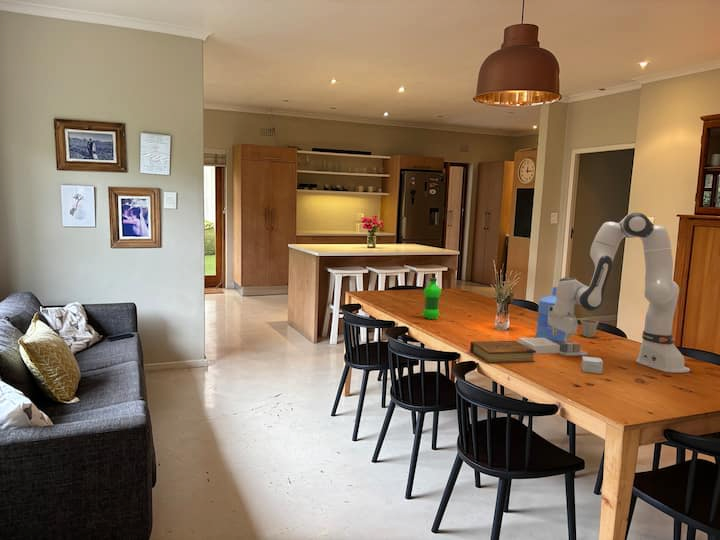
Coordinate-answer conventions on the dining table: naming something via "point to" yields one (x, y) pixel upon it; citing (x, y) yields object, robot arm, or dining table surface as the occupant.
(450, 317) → the dining table surface
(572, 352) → the tray
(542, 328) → the water jug
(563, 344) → the pebble charcoal
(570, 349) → the pebble slate
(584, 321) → the flower pot
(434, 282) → the plastic bottle
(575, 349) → the pebble brown
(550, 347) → the flat white box
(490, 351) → the diary
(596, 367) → the small box
